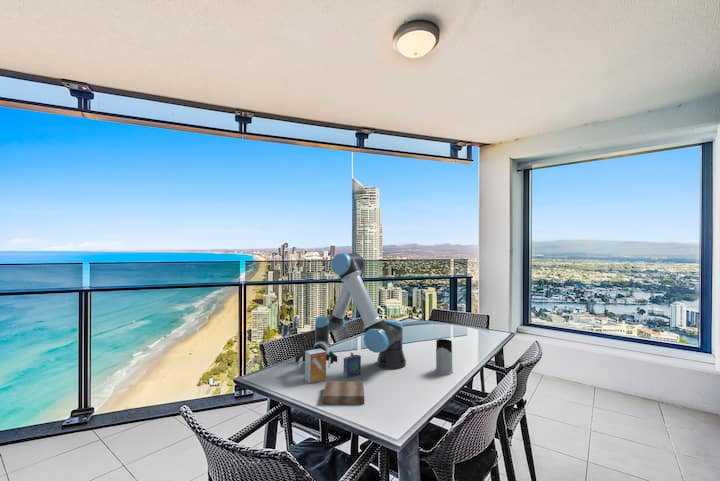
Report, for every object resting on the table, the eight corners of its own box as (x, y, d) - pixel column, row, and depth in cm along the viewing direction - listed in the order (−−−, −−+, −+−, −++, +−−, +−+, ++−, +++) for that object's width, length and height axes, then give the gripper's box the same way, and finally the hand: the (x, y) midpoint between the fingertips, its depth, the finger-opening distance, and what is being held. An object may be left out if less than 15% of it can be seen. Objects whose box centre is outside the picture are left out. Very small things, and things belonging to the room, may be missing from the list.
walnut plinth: (363, 388, 133) (363, 381, 133) (364, 404, 119) (364, 396, 119) (326, 388, 132) (326, 381, 133) (322, 403, 118) (322, 396, 119)
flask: (344, 378, 144) (345, 355, 145) (341, 376, 147) (342, 353, 147) (361, 374, 149) (361, 352, 149) (358, 372, 151) (358, 350, 152)
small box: (310, 383, 137) (310, 354, 138) (304, 379, 143) (304, 350, 144) (326, 380, 142) (326, 351, 143) (320, 375, 147) (320, 347, 148)
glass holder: (433, 372, 152) (433, 341, 153) (440, 364, 165) (439, 335, 166) (451, 375, 148) (451, 344, 149) (456, 366, 161) (456, 337, 162)
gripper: (343, 358, 162) (341, 373, 141) (295, 357, 161) (286, 372, 140) (343, 343, 162) (341, 356, 141) (296, 343, 162) (287, 356, 141)
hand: (314, 364), depth 141 cm, fingers open, 13 cm apart
